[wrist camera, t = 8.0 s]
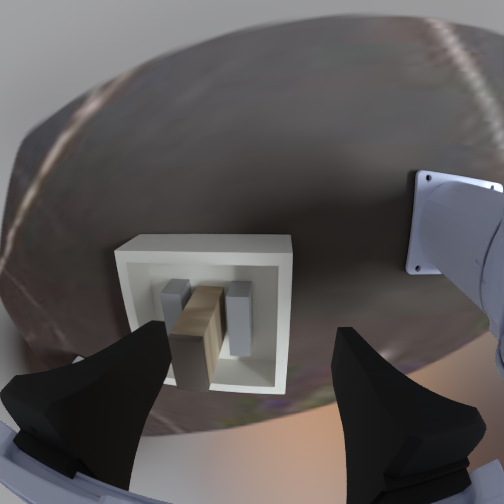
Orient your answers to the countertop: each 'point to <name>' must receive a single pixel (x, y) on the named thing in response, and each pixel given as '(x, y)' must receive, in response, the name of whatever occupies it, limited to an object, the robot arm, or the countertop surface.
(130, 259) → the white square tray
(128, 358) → the robot arm
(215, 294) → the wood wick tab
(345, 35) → the countertop surface
